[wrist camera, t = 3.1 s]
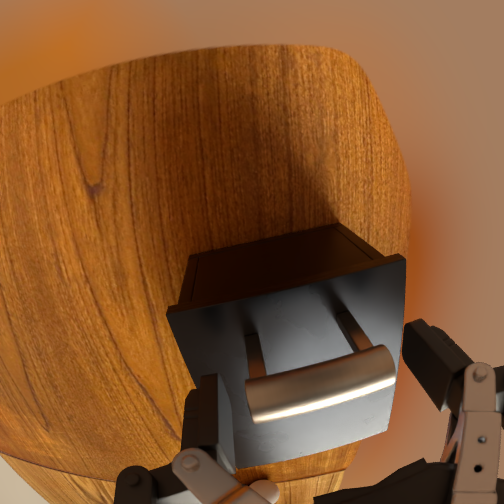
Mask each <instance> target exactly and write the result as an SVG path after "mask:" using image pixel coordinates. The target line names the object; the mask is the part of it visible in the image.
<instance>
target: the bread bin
mask: <svg viewBox="0 0 504 504" xmlns="http://www.w3.org/2000/svg"><path fill="white" fill-rule="evenodd" d="M383 257H385V256H383V255H382V254H381V253H380V252H378V251H377V250H376V249H374V248H373V247H372V246H371V245H369V244H368V243H367V242H365V241H364V240H363V239H361V238H360V237H359V236H357V235H356V234H355V233H353V232H352V231H351V230H349V229H348V228H347V227H345V226H344V225H342V224H341V223H335V224H331V225H326V226H321V227H317V228H312V229H307V230H303V231H298V232H293V233H289V234H284V235H280V236H275V237H270V238H266V239H261V240H257V241H252V242H248V243H243V244H238V245H234V246H229V247H225V248H220V249H216V250H211V251H207V252H202V253H198V254H194V255H190V256H189V260H188V264H187V267H186V271H185V275H184V279H183V283H182V287H181V291H180V296H179V300H178V304H182V303H187V302H192V301H197V300H202V299H207V298H212V297H217V296H221V295H226V294H231V293H235V292H240V291H245V290H249V289H254V288H258V287H263V286H267V285H272V284H276V283H280V282H285V281H289V280H293V279H298V278H302V277H306V276H310V275H315V274H319V273H323V272H327V271H331V270H335V269H339V268H343V267H347V266H351V265H355V264H359V263H363V262H367V261H371V260H375V259H379V258H383Z"/></svg>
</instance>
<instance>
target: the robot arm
mask: <svg viewBox="0 0 504 504" xmlns="http://www.w3.org/2000/svg"><path fill="white" fill-rule="evenodd" d="M402 356H403V360H404V362H405V364H406V365H407V366H408V368H409V369H410V370H411V372H412V373H413V374H414V376H415V377H416V379H417V380H418V381H419V383H420V384H421V386H422V387H423V388H424V390H425V391H426V393H427V394H428V395H429V397H430V398H431V400H432V401H433V403H434V404H435V405H436V407H437V408H438V410H439V411H440V412H441V411H443V410H445V409H447V408H449V409H450V410H451V413H450V417H449V423H448V430H447V435H446V441H445V446H444V450H443V454H442V457H441V459H440V462H433V463H426V461H425V459H424V458H422V459H420V460H418V461H416V462H413V463H411V464H409V465H407V466H404V467H402V468H400V469H398V470H397V471H395V472H394V473H392V474H391V475H389V476H388V477H386V478H385V479H384V480H382V481H380V482H379V483H377V484H376V485H373V486H368V487H360V488H351V489H342V490H338V491H335V492H331V493H328V494H324V495H320V496H316V497H313V500H314V504H504V480H503V479H500V478H497V474H498V467H499V457H500V443H501V426H502V428H503V429H504V366H500V367H496V368H492V367H491V366H490V365H488V364H486V363H482V362H476V363H474V362H473V361H472V360H471V358H469V357H468V355H467V354H466V353H465V352H464V351H463V350H462V349H461V348H460V347H459V346H458V345H457V344H455V342H454V341H453V340H452V339H450V337H449V336H448V335H447V334H446V333H445V332H444V331H443V330H441V329H439V328H437V327H435V326H431V327H430V326H429V325H427V323H426V322H425V321H424V320H423V319H417V320H415V321H413V322H409V323H406V324H405V326H404V333H403V344H402ZM184 410H185V411H184V419H183V429H182V441H181V450H180V452H179V453H178V454H177V455H176V456H175V457H174V458H173V461H172V462H171V463H169V464H168V465H165V466H162V467H159V468H156V469H153V470H150V471H148V470H147V469H146V468H144V467H142V466H136V465H135V466H130V467H127V468H125V469H124V470H122V471H121V472H120V474H119V475H118V477H117V481H116V489H115V497H114V504H272V503H270V502H269V501H268V500H266V499H265V498H264V497H262V496H261V495H260V494H258V493H257V492H256V491H254V490H253V489H252V488H251V487H249V486H248V485H246V484H244V485H243V484H242V483H240V482H239V481H238V480H237V479H235V478H234V477H233V476H232V475H231V474H236V468H235V455H234V440H233V425H232V410H231V404H230V400H229V396H228V394H227V391H226V389H225V386H224V384H223V381H222V378H221V376H220V374H219V373H214V374H209V375H203V376H201V378H200V388H199V389H192V390H191V391H190V392H189V394H188V396H187V397H186V399H185V407H184Z"/></svg>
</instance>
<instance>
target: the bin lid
mask: <svg viewBox="0 0 504 504" xmlns="http://www.w3.org/2000/svg"><path fill="white" fill-rule="evenodd" d="M405 286H406V258H404V257H403V256H402V255H400V254H399V253H398V254H394V255H390V256H386V257H383V258H379V259H375V260H371V261H367V262H363V263H359V264H355V265H351V266H347V267H343V268H339V269H335V270H331V271H327V272H323V273H319V274H315V275H310V276H306V277H302V278H298V279H293V280H289V281H285V282H280V283H276V284H272V285H267V286H263V287H258V288H254V289H249V290H245V291H240V292H235V293H231V294H226V295H221V296H217V297H212V298H207V299H202V300H197V301H192V302H187V303H182V304H177V305H172V306H168V309H167V312H166V317H167V319H168V322H169V324H170V327H171V330H172V332H173V335H174V337H175V339H176V342H177V344H178V347H179V349H180V352H181V354H182V356H183V359H184V361H185V363H186V366H187V368H188V370H189V373H190V375H191V377H192V379H193V382H194V384H195V386H196V388H197V389H199V388H200V378H201V376H203V375H209V374H214V373H219V374H220V376H221V378H222V381H223V384H224V386H225V389H226V391H227V394H228V396H229V400H230V404H231V410H232V425H233V440H234V455H235V466H236V467H237V469H240V468H247V467H253V466H259V465H265V464H270V463H275V462H280V461H285V460H290V459H294V458H299V457H303V456H307V455H311V454H315V453H319V452H322V451H326V450H330V449H333V448H336V447H340V446H343V445H346V444H349V443H352V442H356V441H359V440H361V439H364V438H367V437H370V436H372V435H375V434H378V433H381V432H383V431H386V430H387V429H388V424H389V419H390V414H391V409H392V404H393V398H394V393H395V386H396V380H397V373H398V366H399V358H400V351H401V350H400V349H401V341H402V331H403V319H404V305H405Z"/></svg>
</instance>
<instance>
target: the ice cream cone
mask: <svg viewBox="0 0 504 504" xmlns="http://www.w3.org/2000/svg"><path fill="white" fill-rule="evenodd" d="M249 487H251V488H252V489H253V490H254V491H256V492H257V493H258V494H260V495H261V496H262V497H264V498H265V499H266V500H268V501H269V502H270V503H272V504H274V503H275V502H276V501H277V500H278V498H279V489H278V487H277V485H276V484H275V483H273V482H272V481H269V480H258V481H255V482H253V483H252V484H251V485H250V486H249Z"/></svg>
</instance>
